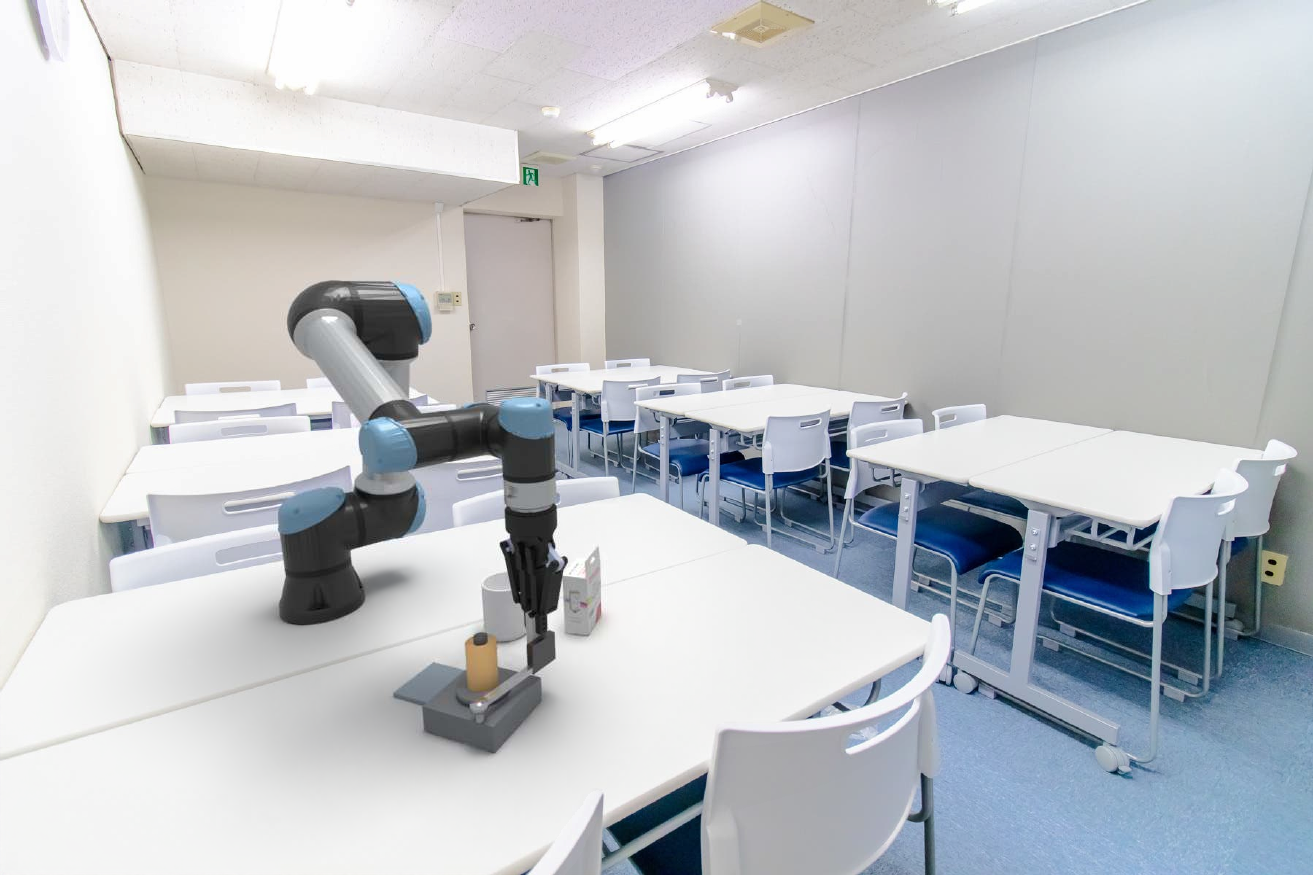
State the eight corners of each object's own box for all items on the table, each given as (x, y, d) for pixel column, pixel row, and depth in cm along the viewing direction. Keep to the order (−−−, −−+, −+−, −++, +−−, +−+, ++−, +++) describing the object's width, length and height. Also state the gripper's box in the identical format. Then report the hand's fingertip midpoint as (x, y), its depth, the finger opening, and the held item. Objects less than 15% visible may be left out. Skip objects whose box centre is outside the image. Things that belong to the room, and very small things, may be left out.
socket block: (424, 730, 86) (421, 698, 85) (477, 683, 97) (475, 654, 96) (494, 752, 82) (492, 719, 81) (541, 700, 93) (540, 670, 92)
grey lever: (466, 712, 82) (464, 682, 81) (546, 655, 95) (545, 628, 94) (479, 718, 81) (476, 687, 80) (558, 659, 94) (557, 632, 93)
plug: (447, 725, 88) (440, 643, 85) (480, 694, 95) (475, 618, 92) (491, 738, 85) (485, 654, 82) (521, 705, 92) (517, 627, 89)
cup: (483, 645, 108) (480, 592, 106) (486, 612, 120) (483, 565, 118) (530, 639, 110) (528, 588, 108) (529, 608, 122) (527, 561, 119)
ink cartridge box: (578, 611, 120) (576, 542, 117) (602, 614, 119) (600, 544, 116) (563, 633, 112) (560, 559, 109) (588, 636, 111) (587, 562, 108)
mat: (393, 696, 94) (393, 692, 94) (433, 665, 102) (433, 661, 102) (440, 709, 91) (440, 706, 91) (478, 676, 99) (477, 673, 99)
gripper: (482, 501, 89) (491, 645, 95) (540, 521, 82) (546, 676, 87) (522, 489, 95) (528, 625, 100) (580, 507, 87) (584, 653, 92)
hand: (536, 649), depth 94 cm, fingers closed
